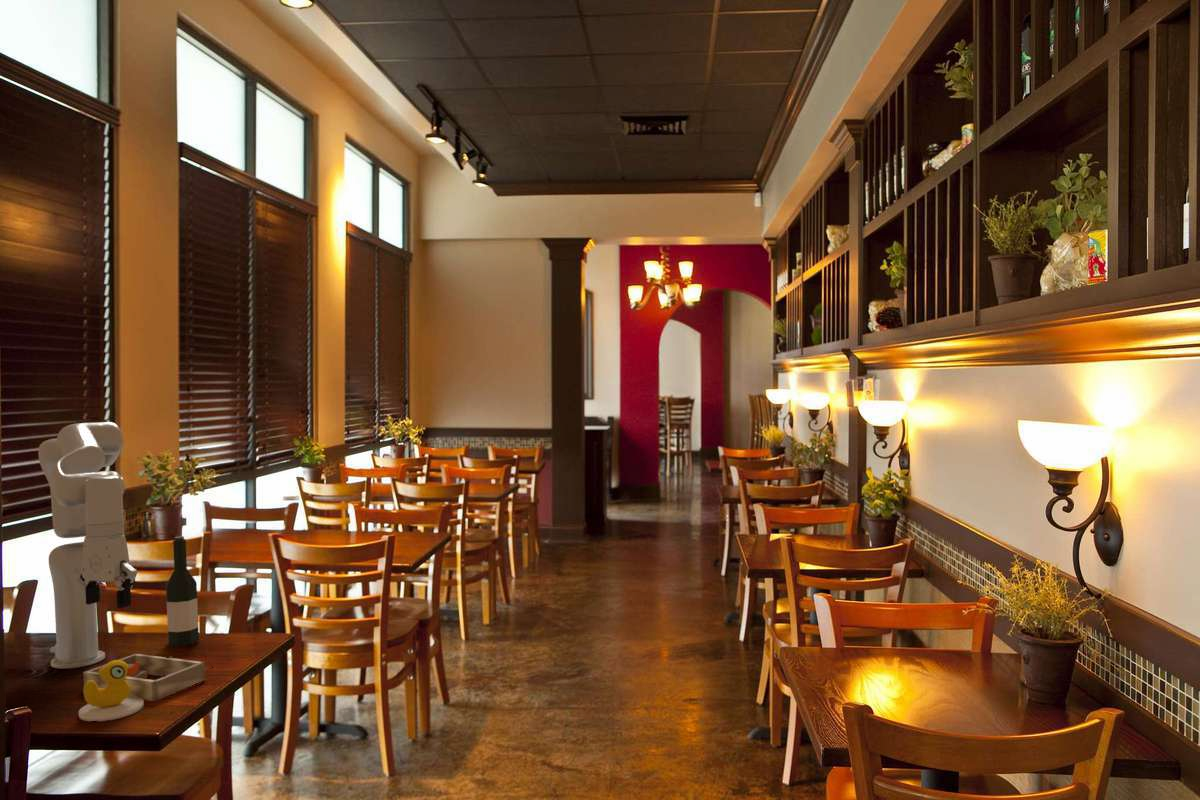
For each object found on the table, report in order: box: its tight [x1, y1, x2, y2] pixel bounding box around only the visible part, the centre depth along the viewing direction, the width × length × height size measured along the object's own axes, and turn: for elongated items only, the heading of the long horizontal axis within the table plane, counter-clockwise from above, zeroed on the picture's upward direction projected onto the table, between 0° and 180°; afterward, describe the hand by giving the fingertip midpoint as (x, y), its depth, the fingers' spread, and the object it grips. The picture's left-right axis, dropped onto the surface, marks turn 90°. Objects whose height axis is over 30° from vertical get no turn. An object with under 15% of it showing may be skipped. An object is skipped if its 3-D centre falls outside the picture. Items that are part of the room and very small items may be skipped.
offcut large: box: [132, 671, 148, 679], centre depth 226 cm, size 5×9×2 cm, turn 163°
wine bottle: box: [165, 535, 200, 647], centre depth 259 cm, size 8×8×30 cm
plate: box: [78, 696, 145, 722], centre depth 207 cm, size 13×13×1 cm
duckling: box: [82, 659, 139, 707], centre depth 208 cm, size 11×5×10 cm, turn 123°
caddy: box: [82, 653, 206, 702], centre depth 224 cm, size 23×15×4 cm, turn 68°
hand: (108, 604), depth 208 cm, fingers open, 9 cm apart
